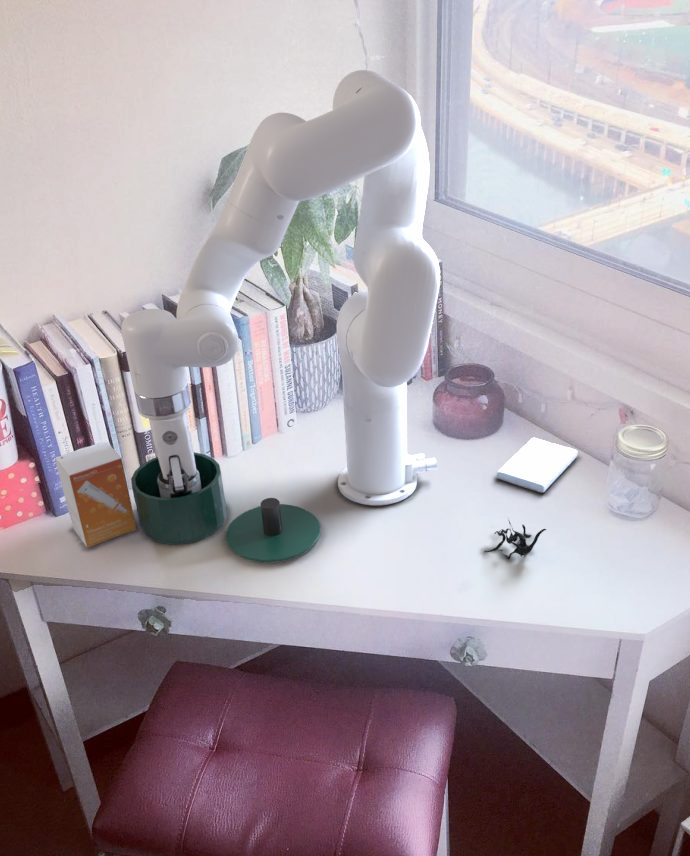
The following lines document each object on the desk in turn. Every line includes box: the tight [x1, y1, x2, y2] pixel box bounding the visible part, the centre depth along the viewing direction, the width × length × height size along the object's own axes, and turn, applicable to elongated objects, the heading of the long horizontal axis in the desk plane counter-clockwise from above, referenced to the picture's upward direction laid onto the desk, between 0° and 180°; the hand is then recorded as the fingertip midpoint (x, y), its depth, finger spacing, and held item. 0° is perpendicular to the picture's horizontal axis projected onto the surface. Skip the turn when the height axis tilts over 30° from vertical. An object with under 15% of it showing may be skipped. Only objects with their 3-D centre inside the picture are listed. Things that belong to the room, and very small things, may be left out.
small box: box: [54, 440, 137, 549], centre depth 134 cm, size 8×6×13 cm
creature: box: [483, 518, 547, 560], centre depth 128 cm, size 8×5×8 cm
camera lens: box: [157, 469, 202, 498], centre depth 137 cm, size 6×6×8 cm
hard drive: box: [496, 437, 578, 494], centre depth 146 cm, size 2×8×12 cm
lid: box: [225, 497, 321, 564], centre depth 133 cm, size 14×14×6 cm
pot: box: [130, 451, 228, 545], centre depth 137 cm, size 13×13×8 cm
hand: (183, 501), depth 138 cm, fingers closed on camera lens, 6 cm apart
